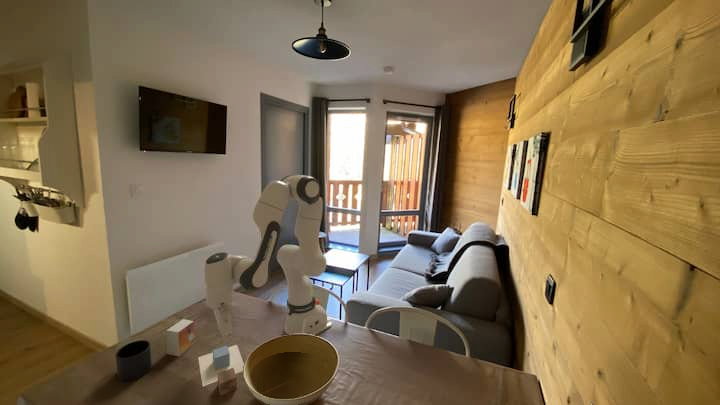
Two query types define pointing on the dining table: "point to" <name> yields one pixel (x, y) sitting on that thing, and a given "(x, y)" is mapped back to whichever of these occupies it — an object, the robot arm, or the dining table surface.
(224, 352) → the cube
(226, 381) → the block
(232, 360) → the cream flat square panel
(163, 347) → the dining table surface
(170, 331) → the small box
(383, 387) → the dining table surface
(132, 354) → the mug
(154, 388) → the dining table surface
